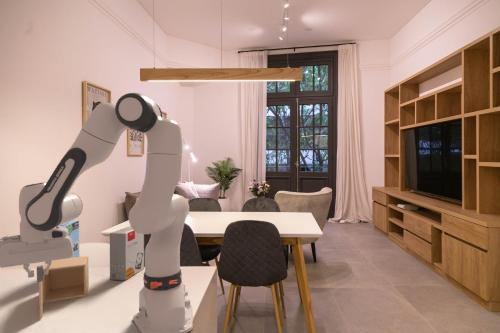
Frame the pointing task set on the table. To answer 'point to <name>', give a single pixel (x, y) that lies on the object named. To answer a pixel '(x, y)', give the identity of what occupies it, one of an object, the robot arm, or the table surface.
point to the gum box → (73, 235)
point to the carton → (66, 279)
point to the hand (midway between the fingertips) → (38, 275)
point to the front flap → (40, 287)
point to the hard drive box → (126, 253)
